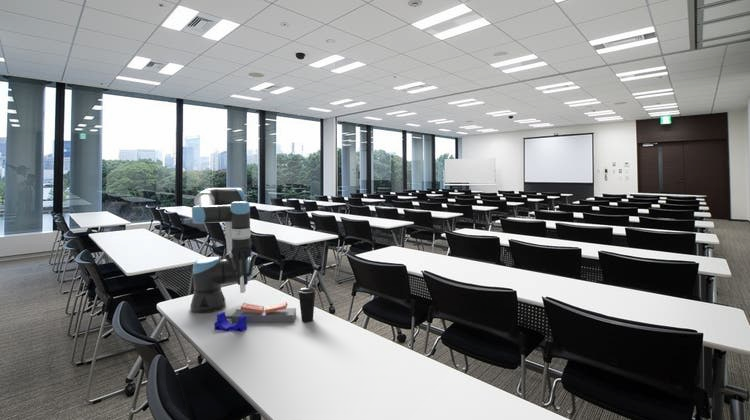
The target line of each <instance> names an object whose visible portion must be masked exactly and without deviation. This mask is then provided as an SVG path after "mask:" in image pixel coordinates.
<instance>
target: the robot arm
mask: <svg viewBox="0 0 750 420" xmlns="http://www.w3.org/2000/svg"><path fill="white" fill-rule="evenodd" d="M245 195H246V194H245V192H244V190H243V189H242V188H241V187H211V188H210V187H209V188H205V189H203V190H201V191H199V192H198V193H197V194H196V195H195V196H194V199H193V204H194V206H192V207H191V216H192V217H191V220H192V223H193V224H202V225H203V224H212V223H224V231H225V242H226V243H225V245H226V254H225V255H224V257H223V258H224V259H221V257H220V256H209V257H204V258H201V259H198V260H196V261H195V262H194V263H193V264H192V275H193V296H192V299H191V303H190V305H189V307H190V311H191V312H192V313H197V314H207V313H212V312H216V311H219V310H223V308H225V307H226V302H227V301H226V298H225V295H224V293H223V290H222V285H227V284H235V283H236V284H238V286H239V289H240V290H239V291H240V292H239V293H240V294H245V292H246V291H247V290H246V289H247V288H246V287H247V285H248V282H249V281H251V279H252V277H253V271H254V267H255V266H254V265H255V263H256V262H255V261H256V258H257V257H258V253H257V252H254V251H253V249H252V245H251V244H252V242H251V241H252V239H251V238H250V237H251V214H250V213H251V208H250V207H251V206H250V202H248V201H247V200H246V196H245Z"/></svg>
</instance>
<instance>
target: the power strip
mask: <svg viewBox="0 0 750 420" xmlns="http://www.w3.org/2000/svg"><path fill="white" fill-rule="evenodd" d="M265 309H266V308H264V310H263V312H262V313H256V312H250V311H245V310H240V309H239V308H237V309H236V310H235V311H234V312H233V313H232V315H225V316H226V318H227V320H230V323H232V324H237V323H238V318H239V317H241V316H242V315H246V322H247V324H277V323H278V324H279V323H280V324H284V323H294V322H295V320H296V316H297V308H296V307H289V308H288V307H286V309H283V310H278V311H274V312H269V313H265Z"/></svg>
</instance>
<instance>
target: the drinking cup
mask: <svg viewBox="0 0 750 420" xmlns="http://www.w3.org/2000/svg"><path fill="white" fill-rule="evenodd" d="M308 279H309V278H308V275H305V283H306V284H305V286H303V287H300V288H298V290H297V292H298V299H299V307H300V316H301V317H300V318H301V322H302V323H310V322H313V320H314V312H315V311H314V310H315V299H316V298H315V297H316V291H317V289H316V288H315V287H314V286H313V287H312V286H309V285H308V283H309V281H308Z"/></svg>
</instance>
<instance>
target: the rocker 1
mask: <svg viewBox="0 0 750 420" xmlns="http://www.w3.org/2000/svg"><path fill="white" fill-rule="evenodd" d="M264 309H265V306H262V305H257V304H252V303H247V302H243V303H242V304H241V305H240V310H245V311H250V312H256V313H262V312H263V310H264Z"/></svg>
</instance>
